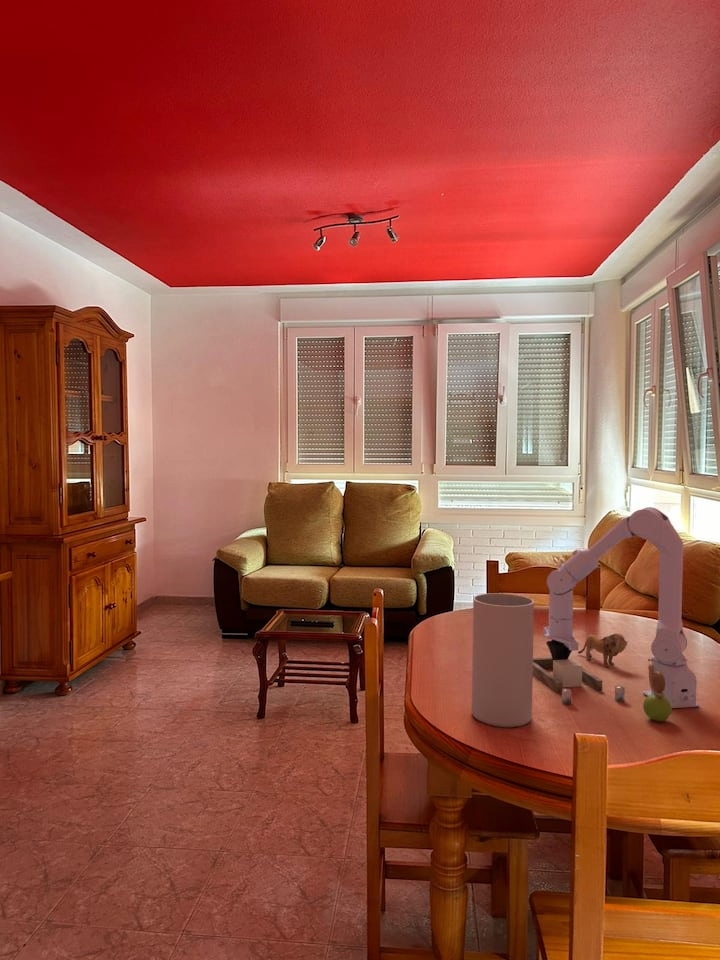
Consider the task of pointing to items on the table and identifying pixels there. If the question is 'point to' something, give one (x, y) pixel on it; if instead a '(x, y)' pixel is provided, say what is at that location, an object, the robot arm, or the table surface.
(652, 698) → the snail figurine
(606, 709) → the table surface
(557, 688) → the stall
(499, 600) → the cylinder vase
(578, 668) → the cube
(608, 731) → the table surface
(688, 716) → the table surface
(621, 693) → the posts
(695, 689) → the robot arm
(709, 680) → the table surface
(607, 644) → the lion figurine
